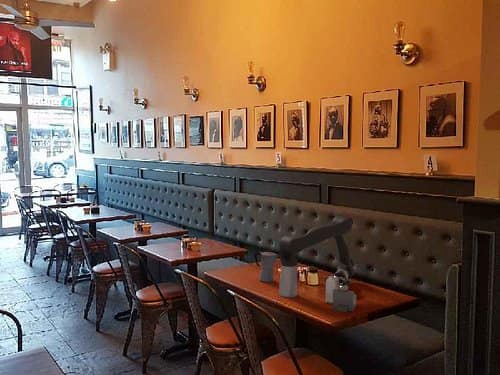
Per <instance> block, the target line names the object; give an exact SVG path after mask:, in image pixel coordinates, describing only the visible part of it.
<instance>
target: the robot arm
mask: <svg viewBox="0 0 500 375" xmlns="http://www.w3.org/2000/svg"><path fill="white" fill-rule="evenodd" d="M352 228H353V223H352V221H351V220H350V219H349V218H346V217H342V216H335V217H334V218H332V222H331V224H327V225H323V224H322V225H319V226H316V227H313V228H310V229H309V230H308V231H307V232H306V234H305V235H302V236H299V237H298V236H297V237H292V236H288V235H287V236H282V238H281V239H280V242H279V246H278V247H279V260H280V278H279V287H278V289H279V291H278V292H279V293H278V296H280V297H284V298H296V297H297V296H298V293H297V292H298V260H297V259H296V258H295V257H294V255H296V254H298V253H300V252H303V251H304V250H305V249H307V248H309V247H312V246H315V245H318V244H320V243H322V242H326V241H327V240H329V239H332V238H334V240H335V244H336V250H337V258H338V262H339V263H340V265H338V266H337V268H336V272H335V273H334V274H333V277H339V286H340V285H346V286H350V285H351V278H349V277H353V276H354V274H355V269H354V267H353V263H352V260H351V256H350V255H351V254H350V249H349V246H348V244H347V242H346V240H345V238H344V235H346V234H348V233H349V232H350V231H351V230H352ZM341 264H342V265H341ZM329 277H330V276H329V275H327V276H326V277H324V283H326V280H327V279H328V278H329Z"/></svg>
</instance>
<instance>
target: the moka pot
mask: <svg viewBox="0 0 500 375" xmlns="http://www.w3.org/2000/svg"><path fill="white" fill-rule="evenodd" d="M257 255H258V256H260V259H261V261H260V262H261V263H260V264H261V265H260V264H259V262H258V256H257ZM253 256H254V259H255V264H256V266H257V267H261V271H260V275H259V281H260V282H263V283H273V282H274V267H275V262H276V260H277V259H278V257H279V254H276V253H275V252H271V249H267V251H264V252H261V251H257V252H256V253H255V254H254V255H253Z"/></svg>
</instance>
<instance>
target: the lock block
mask: <svg viewBox="0 0 500 375" xmlns="http://www.w3.org/2000/svg"><path fill="white" fill-rule="evenodd" d="M333 276H334V275H333ZM333 276H331V275H330V276H329V278H328V279H327V280H326V282H325V301H324V302H325V303H327V302H329V304H333V289H336V290H339V286H340V285H339V277H333Z"/></svg>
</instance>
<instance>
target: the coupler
mask: <svg viewBox="0 0 500 375" xmlns="http://www.w3.org/2000/svg"><path fill="white" fill-rule="evenodd" d="M356 306H357V294H355V292H354V291H352V290H351V291H350V290H349V285H347V284H346V285H339V288H338V290H336V289H333V303H332V308H331V309H332V310H336V311H337V312H343V313H347V312H351V311H352V312H354V310H355V309H354V308H356Z"/></svg>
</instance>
